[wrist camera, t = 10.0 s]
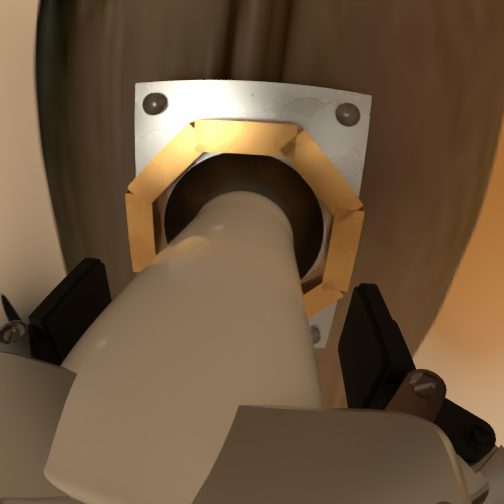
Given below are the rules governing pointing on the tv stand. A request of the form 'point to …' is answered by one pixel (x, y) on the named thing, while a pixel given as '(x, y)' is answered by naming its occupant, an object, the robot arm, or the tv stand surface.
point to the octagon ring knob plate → (254, 170)
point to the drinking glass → (186, 358)
